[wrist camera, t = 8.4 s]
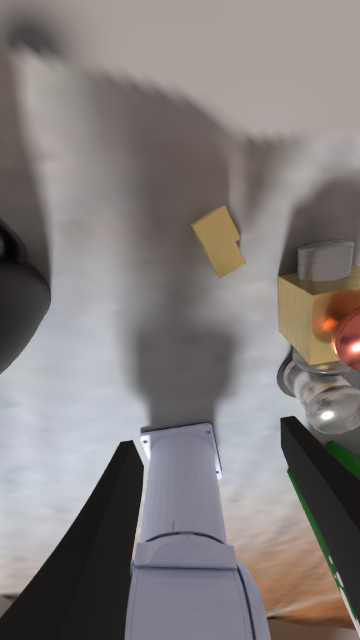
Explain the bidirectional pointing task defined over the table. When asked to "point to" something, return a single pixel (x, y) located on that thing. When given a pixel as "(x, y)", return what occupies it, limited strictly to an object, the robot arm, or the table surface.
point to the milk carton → (356, 467)
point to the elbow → (219, 240)
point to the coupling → (324, 399)
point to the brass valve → (322, 308)
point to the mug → (18, 297)
